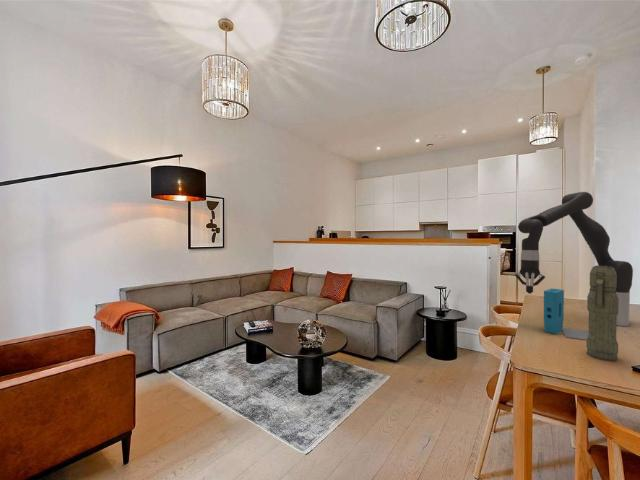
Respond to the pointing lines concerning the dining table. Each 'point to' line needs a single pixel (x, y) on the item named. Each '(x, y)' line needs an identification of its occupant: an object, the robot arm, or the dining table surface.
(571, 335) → the mat
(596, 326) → the olive green pouch
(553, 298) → the block
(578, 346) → the dining table surface
